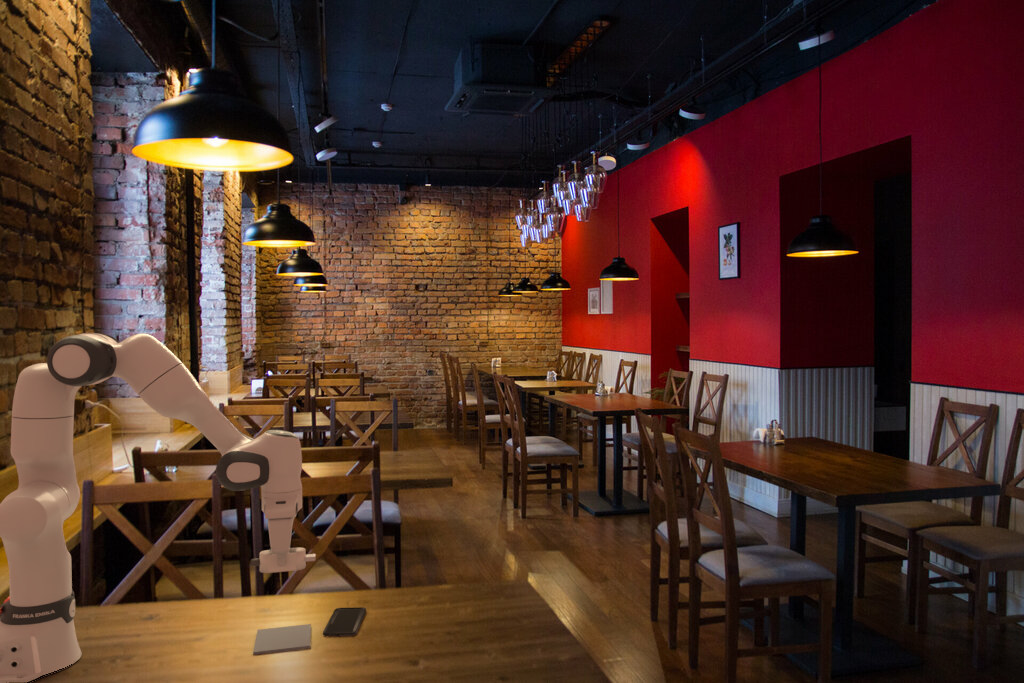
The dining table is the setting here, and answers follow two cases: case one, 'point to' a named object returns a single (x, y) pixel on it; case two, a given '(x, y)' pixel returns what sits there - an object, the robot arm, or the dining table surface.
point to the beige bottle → (293, 560)
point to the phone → (345, 621)
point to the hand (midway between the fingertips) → (282, 561)
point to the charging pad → (282, 639)
